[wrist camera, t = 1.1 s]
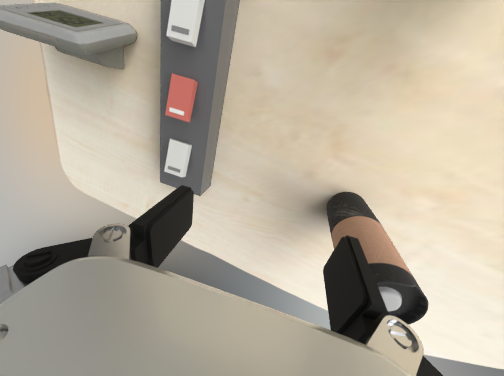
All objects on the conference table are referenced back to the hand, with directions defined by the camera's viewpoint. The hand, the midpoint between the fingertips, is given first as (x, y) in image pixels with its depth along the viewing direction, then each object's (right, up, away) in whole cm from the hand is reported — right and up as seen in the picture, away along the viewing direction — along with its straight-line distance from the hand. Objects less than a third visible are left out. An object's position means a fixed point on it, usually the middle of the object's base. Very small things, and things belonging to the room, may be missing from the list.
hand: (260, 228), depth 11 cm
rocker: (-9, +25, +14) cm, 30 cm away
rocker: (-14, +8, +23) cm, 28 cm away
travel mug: (+18, -1, +26) cm, 32 cm away
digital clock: (-28, +30, +22) cm, 46 cm away
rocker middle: (-11, +17, +19) cm, 27 cm away
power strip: (-9, +21, +21) cm, 32 cm away
